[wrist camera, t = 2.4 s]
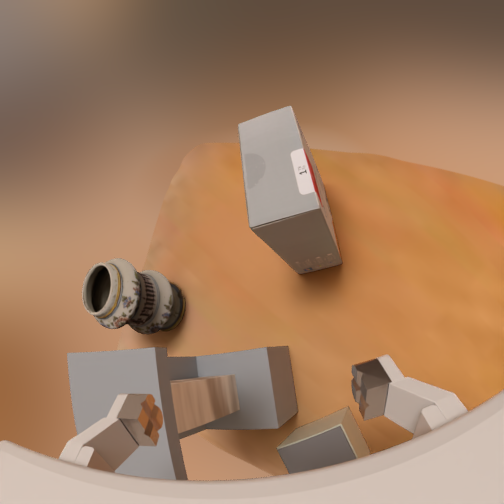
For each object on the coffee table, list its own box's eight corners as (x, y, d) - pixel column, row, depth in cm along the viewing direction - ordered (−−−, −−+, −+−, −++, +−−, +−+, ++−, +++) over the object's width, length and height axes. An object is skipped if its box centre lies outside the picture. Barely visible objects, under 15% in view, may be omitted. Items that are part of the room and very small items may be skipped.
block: (234, 374, 35) (165, 385, 23) (240, 409, 33) (172, 435, 21) (203, 376, 37) (129, 384, 25) (208, 410, 35) (136, 429, 23)
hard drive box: (344, 264, 43) (320, 211, 26) (298, 275, 46) (245, 232, 28) (323, 181, 49) (290, 103, 31) (283, 193, 51) (234, 124, 34)
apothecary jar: (200, 313, 51) (127, 297, 35) (159, 347, 53) (85, 341, 37) (174, 265, 57) (107, 236, 41) (138, 299, 58) (70, 281, 43)
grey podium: (287, 345, 43) (154, 347, 17) (298, 411, 39) (180, 496, 13) (221, 355, 47) (67, 353, 21) (230, 415, 43) (83, 461, 17)
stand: (348, 406, 36) (340, 424, 28) (370, 451, 32) (367, 478, 23) (296, 428, 38) (275, 449, 29) (317, 471, 34) (302, 499, 25)
